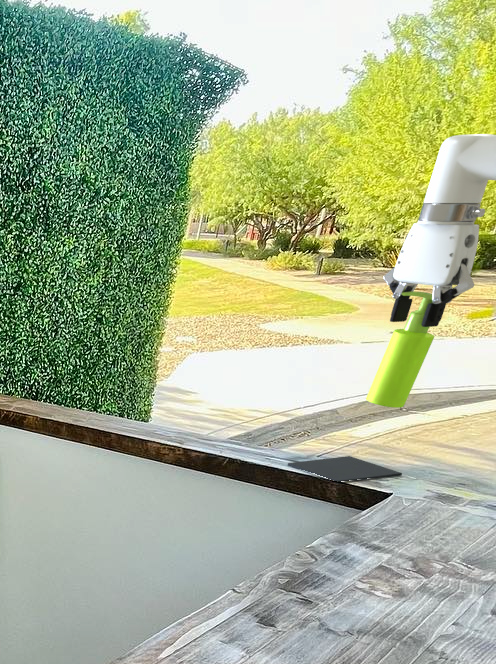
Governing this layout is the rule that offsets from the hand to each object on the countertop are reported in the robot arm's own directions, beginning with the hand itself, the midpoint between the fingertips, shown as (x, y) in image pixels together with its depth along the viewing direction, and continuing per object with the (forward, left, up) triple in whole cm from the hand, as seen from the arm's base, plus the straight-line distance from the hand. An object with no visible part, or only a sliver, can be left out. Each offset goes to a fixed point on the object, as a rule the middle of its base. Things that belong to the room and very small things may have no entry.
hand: (413, 322), depth 137 cm
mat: (0, -4, -30) cm, 30 cm away
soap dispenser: (0, -1, -15) cm, 15 cm away
